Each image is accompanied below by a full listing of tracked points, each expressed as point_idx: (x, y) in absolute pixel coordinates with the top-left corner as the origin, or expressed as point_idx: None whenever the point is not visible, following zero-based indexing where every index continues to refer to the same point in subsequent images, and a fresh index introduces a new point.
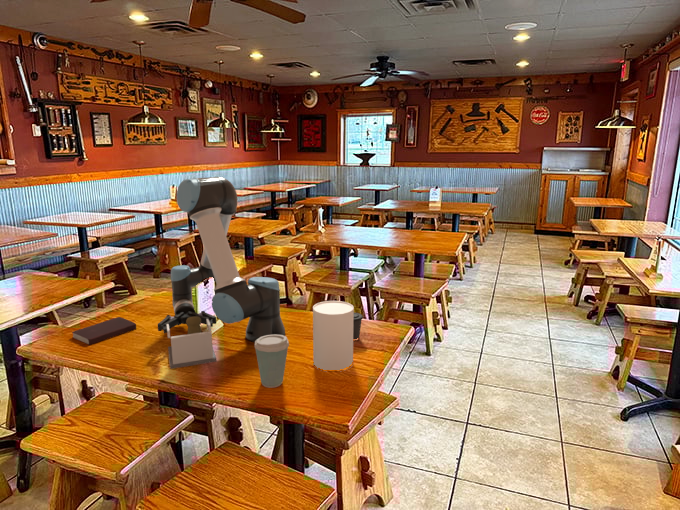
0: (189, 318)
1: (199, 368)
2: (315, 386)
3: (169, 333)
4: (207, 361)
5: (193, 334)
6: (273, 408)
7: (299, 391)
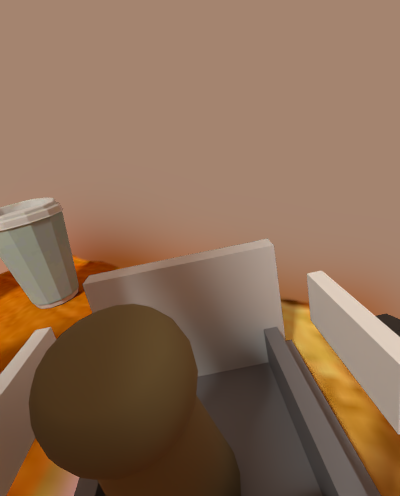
0: (150, 311)
1: None
2: (8, 293)
3: (311, 292)
4: None
5: (168, 262)
6: (101, 261)
7: None
